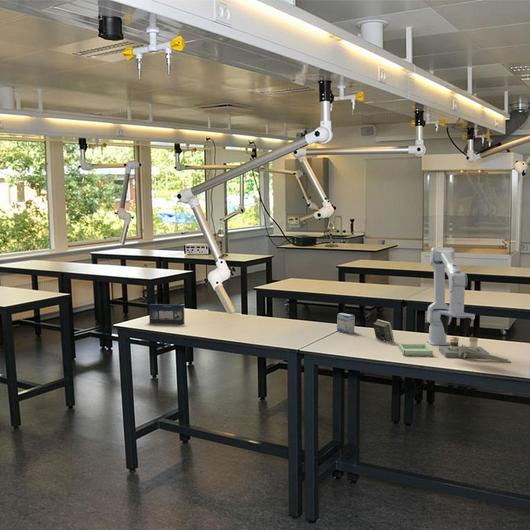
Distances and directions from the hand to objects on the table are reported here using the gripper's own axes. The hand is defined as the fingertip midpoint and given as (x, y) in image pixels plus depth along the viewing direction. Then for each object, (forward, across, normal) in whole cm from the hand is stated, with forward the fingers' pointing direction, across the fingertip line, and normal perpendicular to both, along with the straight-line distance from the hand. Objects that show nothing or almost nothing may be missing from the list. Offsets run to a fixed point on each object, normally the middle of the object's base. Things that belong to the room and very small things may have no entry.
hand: (455, 334), depth 251 cm
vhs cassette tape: (+11, -145, -18) cm, 146 cm away
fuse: (+10, +5, +10) cm, 15 cm away
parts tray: (+10, -16, -1) cm, 19 cm away
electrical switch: (+10, -36, +12) cm, 40 cm away
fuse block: (+10, +2, +8) cm, 13 cm away
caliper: (+10, +11, +3) cm, 16 cm away
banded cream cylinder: (+10, -2, +6) cm, 11 cm away
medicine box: (+10, -59, +18) cm, 63 cm away
